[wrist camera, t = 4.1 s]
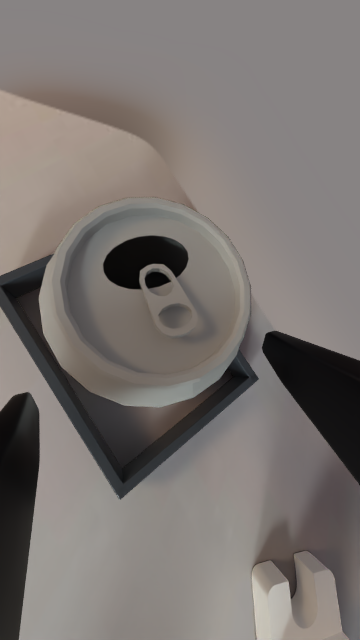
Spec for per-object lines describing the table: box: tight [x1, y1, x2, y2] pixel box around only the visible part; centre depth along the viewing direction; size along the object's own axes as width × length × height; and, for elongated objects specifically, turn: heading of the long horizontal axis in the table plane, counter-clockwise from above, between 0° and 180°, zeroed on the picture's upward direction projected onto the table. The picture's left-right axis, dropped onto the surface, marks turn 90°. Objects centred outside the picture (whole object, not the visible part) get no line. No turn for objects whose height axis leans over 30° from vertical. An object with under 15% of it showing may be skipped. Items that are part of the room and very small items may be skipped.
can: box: [39, 197, 251, 407], centre depth 13 cm, size 8×8×12 cm
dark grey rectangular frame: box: [0, 253, 259, 499], centre depth 17 cm, size 15×12×2 cm
